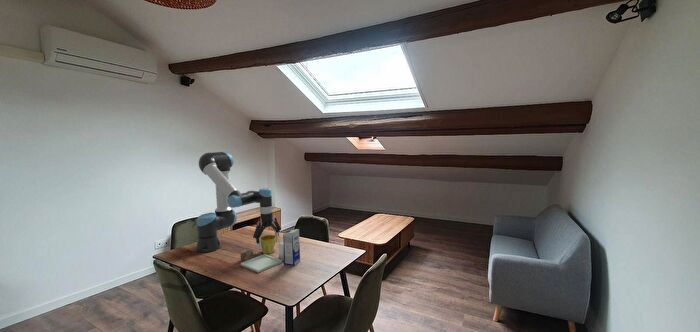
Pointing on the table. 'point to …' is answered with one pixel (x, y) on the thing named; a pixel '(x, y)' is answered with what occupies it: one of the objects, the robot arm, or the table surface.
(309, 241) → the table surface
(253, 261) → the tray
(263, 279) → the table surface
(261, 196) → the robot arm
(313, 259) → the table surface
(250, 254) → the walnut block
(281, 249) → the white rounded capsule
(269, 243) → the plant pot
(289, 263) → the milk carton
